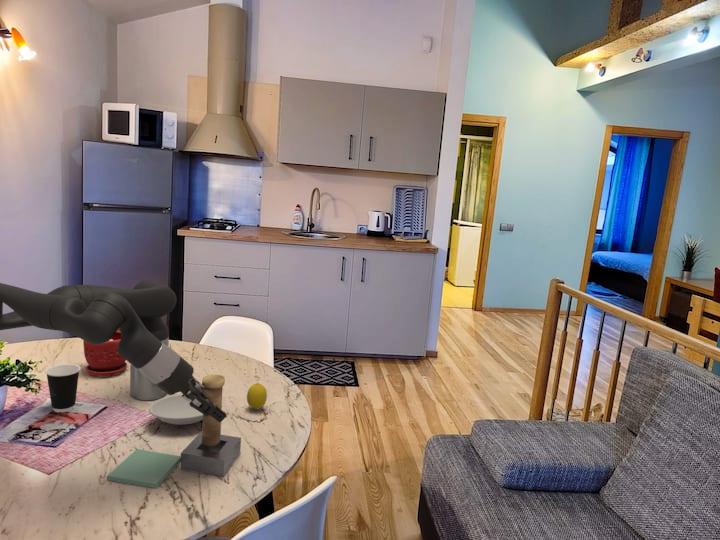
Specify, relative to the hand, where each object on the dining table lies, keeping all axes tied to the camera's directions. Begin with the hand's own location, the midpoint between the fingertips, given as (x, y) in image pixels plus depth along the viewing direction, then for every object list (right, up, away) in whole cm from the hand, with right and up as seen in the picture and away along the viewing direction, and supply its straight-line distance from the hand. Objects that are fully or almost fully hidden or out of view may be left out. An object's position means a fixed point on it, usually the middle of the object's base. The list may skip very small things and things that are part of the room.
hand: (220, 413), depth 114 cm
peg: (-2, -6, 0) cm, 7 cm away
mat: (-15, -11, -4) cm, 19 cm away
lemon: (+2, -7, +29) cm, 30 cm away
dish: (-15, -8, +18) cm, 24 cm away
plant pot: (-49, 0, +46) cm, 67 cm away
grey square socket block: (-3, -11, +2) cm, 12 cm away
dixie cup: (-47, -4, +20) cm, 52 cm away
